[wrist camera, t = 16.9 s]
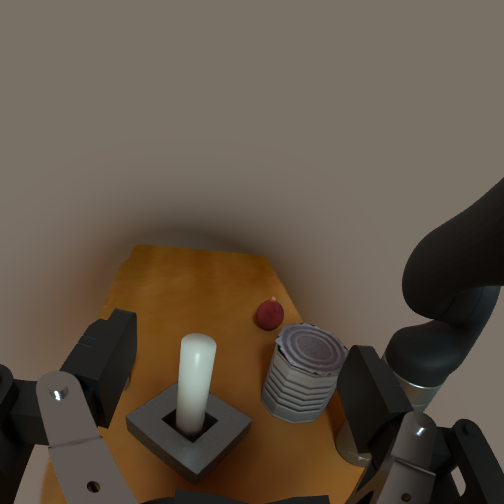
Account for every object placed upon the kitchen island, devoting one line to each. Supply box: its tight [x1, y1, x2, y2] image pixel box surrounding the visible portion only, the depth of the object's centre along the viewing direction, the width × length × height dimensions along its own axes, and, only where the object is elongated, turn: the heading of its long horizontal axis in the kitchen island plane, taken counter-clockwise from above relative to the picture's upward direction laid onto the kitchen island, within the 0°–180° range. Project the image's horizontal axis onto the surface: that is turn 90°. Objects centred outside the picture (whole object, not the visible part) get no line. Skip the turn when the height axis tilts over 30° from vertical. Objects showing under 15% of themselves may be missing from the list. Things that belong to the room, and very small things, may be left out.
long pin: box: [176, 333, 216, 443], centre depth 33 cm, size 4×4×17 cm
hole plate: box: [126, 382, 253, 485], centre depth 35 cm, size 12×12×4 cm
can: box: [261, 323, 349, 424], centre depth 44 cm, size 11×11×12 cm
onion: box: [256, 297, 284, 330], centre depth 64 cm, size 6×6×8 cm
